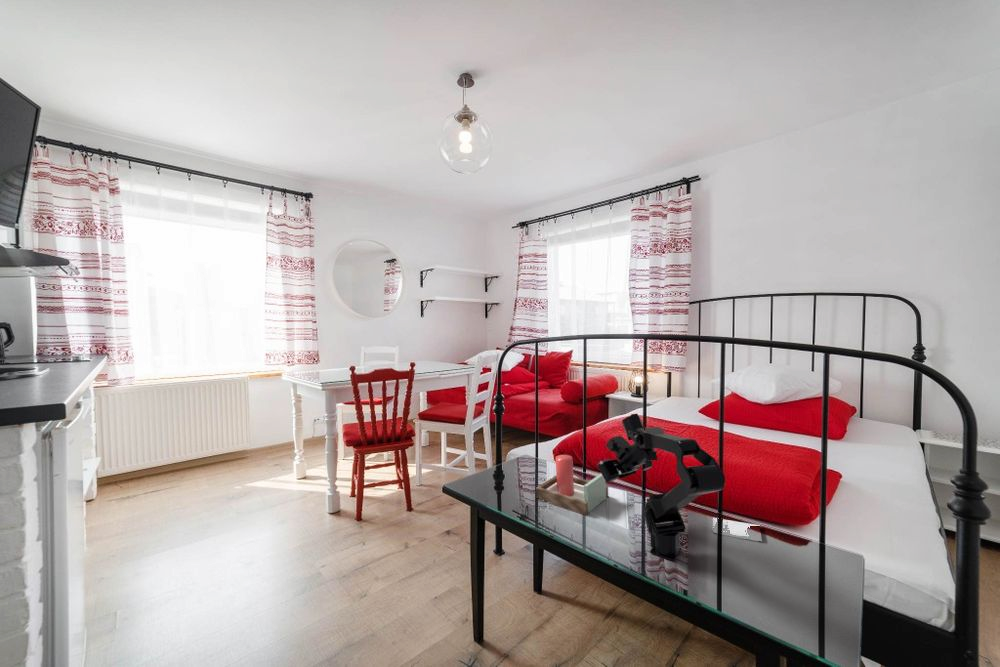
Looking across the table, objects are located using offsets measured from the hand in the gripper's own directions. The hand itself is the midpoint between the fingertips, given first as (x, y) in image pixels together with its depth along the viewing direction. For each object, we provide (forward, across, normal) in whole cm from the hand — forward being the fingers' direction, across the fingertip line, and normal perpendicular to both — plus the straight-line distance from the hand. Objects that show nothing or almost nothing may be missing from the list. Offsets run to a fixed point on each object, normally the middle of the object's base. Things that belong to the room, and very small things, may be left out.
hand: (612, 476), depth 136 cm
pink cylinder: (+20, +7, -5) cm, 21 cm away
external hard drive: (-11, -21, +29) cm, 37 cm away
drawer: (+18, +6, -2) cm, 19 cm away
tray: (+18, +6, -2) cm, 19 cm away
